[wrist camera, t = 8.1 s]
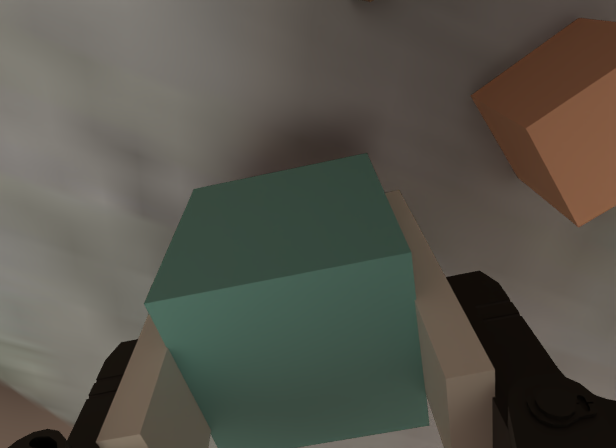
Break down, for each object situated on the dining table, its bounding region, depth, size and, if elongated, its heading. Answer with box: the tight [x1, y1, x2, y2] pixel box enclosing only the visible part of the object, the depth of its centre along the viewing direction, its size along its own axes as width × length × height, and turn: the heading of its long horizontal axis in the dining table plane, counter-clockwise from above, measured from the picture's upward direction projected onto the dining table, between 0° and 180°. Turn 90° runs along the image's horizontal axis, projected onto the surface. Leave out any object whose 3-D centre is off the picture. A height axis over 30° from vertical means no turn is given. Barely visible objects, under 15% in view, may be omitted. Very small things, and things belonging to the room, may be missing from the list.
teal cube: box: [144, 153, 429, 448], centre depth 11 cm, size 5×5×5 cm
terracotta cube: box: [471, 18, 616, 227], centre depth 17 cm, size 5×5×5 cm
